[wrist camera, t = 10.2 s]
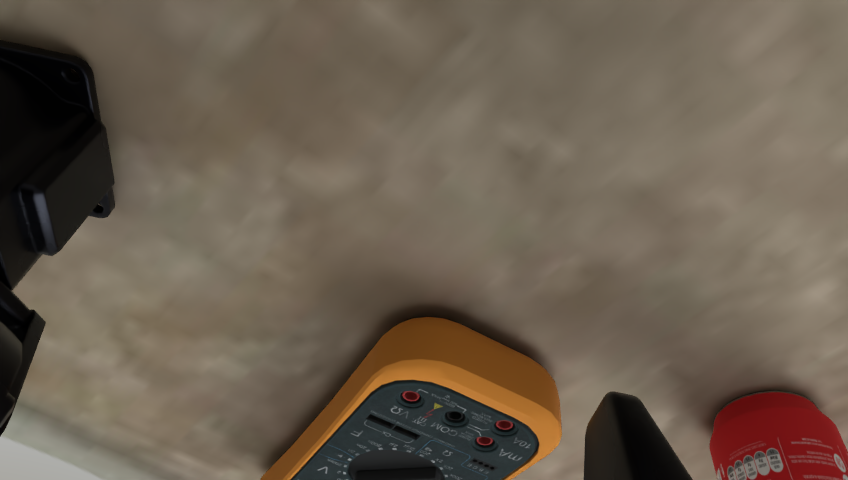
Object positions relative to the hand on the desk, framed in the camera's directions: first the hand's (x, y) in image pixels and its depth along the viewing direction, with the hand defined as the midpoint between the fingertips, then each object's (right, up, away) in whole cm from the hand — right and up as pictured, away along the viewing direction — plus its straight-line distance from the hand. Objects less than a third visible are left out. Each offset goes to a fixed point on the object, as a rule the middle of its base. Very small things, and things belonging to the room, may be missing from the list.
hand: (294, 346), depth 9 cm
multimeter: (+1, -8, +24) cm, 25 cm away
